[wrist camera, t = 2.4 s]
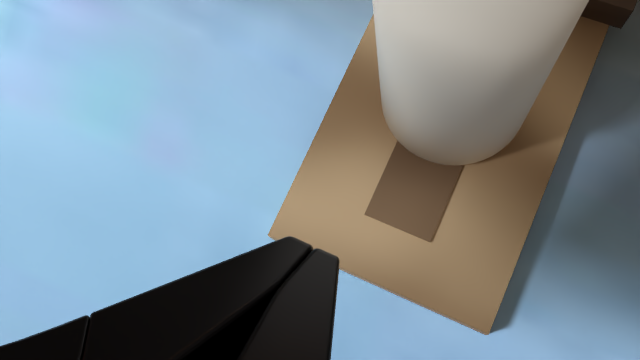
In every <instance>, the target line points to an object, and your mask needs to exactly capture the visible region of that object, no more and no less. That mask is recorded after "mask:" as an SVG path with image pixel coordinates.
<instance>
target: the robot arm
mask: <svg viewBox="0 0 640 360" xmlns="http://www.w3.org/2000/svg"><path fill="white" fill-rule="evenodd" d="M339 263H340V260H339V258H338V257H337V256H335V255H333V254H331V253H329V252H326V251H324V250H322V249H319V248H316V249H313V247H312V245H310V244H308V243H306V242H304V241H302V240H299V239H297V238H295V237H292V236H287V237H284V238H282V239H279V240H277V241H274V242H272V243H269V244H266V245H264V246H261V247H259V248H256V249H254V250H251V251H249V252H246V253H243V254H241V255H238V256H236V257H233V258H231V259H228V260H226V261H223V262H221V263H218V264H215V265H213V266H210V267H208V268H205V269H203V270H200V271H198V272H195V273H193V274H190V275H187V276H185V277H182V278H180V279H177V280H175V281H172V282H170V283H167V284H164V285H162V286H159V287H157V288H154V289H152V290H149V291H147V292H144V293H142V294H139V295H136V296H134V297H131V298H129V299H126V300H124V301H121V302H119V303H116V304H114V305H111V306H108V307H106V308H103V309H101V310H98V311H96V312H93V313H92V314H91V315H90V317H89V316H87V315H85V316H82V317H80V318H77V319H75V320H72V321H70V322H67V323H65V324H62V325H59V326H57V327H54V328H51V329H48V330H46V331H43V332H40V333H37V334H35V335H32V336H29V337H26V338H24V339H21V340H18V341H15V342H12V343H8V344H5V345H2V346H0V360H330V359H331V349H332V338H333V327H334V317H335V306H336V295H337V285H338V274H339Z"/></svg>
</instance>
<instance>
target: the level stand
mask: <svg viewBox="0 0 640 360" xmlns="http://www.w3.org/2000/svg"><path fill="white" fill-rule="evenodd" d="M636 2H637V0H589V1H588V3H587V5H586V7H585V9H584V11H583V12H582V14H581V16H580V18H579V20H578V22H577V24H576V25H575V27H574V29H573V31H572V33H571V35H570V37H569V38H568V40H567V42H566V44H565V46H564V48H563V50H562V51H561V53H560V55H559V57H558V59H557V61H556V63H555V65H554V66H553V68H552V70H551V72H550V74H549V76H548V78H547V79H546V81H545V83H544V85H543V87H542V89H541V91H540V92H539V94H538V96H537V98H536V100H535V102H534V104H533V105H532V107H531V109H530V111H529V113H528V115H527V117H526V118H525V120H524V122H523V124H522V126H521V128H520V130H519V131H518V133H517V134H516V136H515V137H514V138H513V139H512V140H511V142H510V143H509V144H508V145H507V146H506V147H504V148H503V149H502V150H501V151H499V152H498V153H496V154H495V155H493V156H491V157H489V158H487V159H485V160H482V161H479V162H476V163H471V164H466V165H443V164H438V163H434V162H430V161H427V160H425V159H423V158H420V157H418V156H416V155H415V154H413V153H412V152H410V151H409V150H407V149H406V148H405V147H404V146H403V145H401V143H400V142H399V141H398V140H397V139H396V138H395V137H394V135H393V134H392V132H391V131H390V129H389V127H388V125H387V123H386V120H385V118H384V115H383V110H382V103H381V92H380V80H379V69H378V58H377V46H376V35H375V24H374V14H373V16H372V18H371V20H370V22H369V24H368V26H367V29H366V31H365V33H364V35H363V37H362V39H361V41H360V43H359V45H358V47H357V49H356V52H355V54H354V56H353V58H352V60H351V62H350V64H349V66H348V68H347V70H346V73H345V75H344V77H343V79H342V81H341V83H340V85H339V87H338V89H337V91H336V93H335V96H334V98H333V100H332V102H331V104H330V106H329V108H328V110H327V112H326V114H325V116H324V119H323V121H322V123H321V125H320V127H319V129H318V131H317V133H316V135H315V137H314V139H313V142H312V144H311V146H310V148H309V150H308V152H307V154H306V156H305V158H304V160H303V162H302V165H301V167H300V169H299V171H298V173H297V175H296V177H295V179H294V181H293V183H292V186H291V188H290V190H289V192H288V194H287V196H286V198H285V200H284V202H283V204H282V206H281V209H280V211H279V213H278V215H277V217H276V219H275V221H274V223H273V225H272V227H271V229H270V232H269V234H268V236H269V237H270V238H272V239H273V240H275V241H277V240H279V239H282V238H284V237H287V236H292V237H295V238H297V239H299V240H302V241H304V242H306V243H308V244H310V245H312V247H313V249H316V248H319V249H322V250H324V251H326V252H329V253H331V254H333V255H335V256H337V257H338V258H339V260H340V263H339V269H340V270H342V271H344V272H347V273H349V274H351V275H353V276H355V277H358V278H360V279H362V280H364V281H367V282H369V283H371V284H373V285H375V286H378V287H380V288H382V289H384V290H387V291H389V292H391V293H393V294H395V295H398V296H400V297H402V298H404V299H407V300H409V301H411V302H413V303H415V304H418V305H420V306H422V307H424V308H427V309H429V310H431V311H433V312H435V313H438V314H440V315H442V316H444V317H447V318H449V319H451V320H453V321H455V322H458V323H460V324H462V325H464V326H467V327H469V328H471V329H473V330H475V331H478V332H480V333H482V334H484V335H489V332H490V330H491V327H492V325H493V322H494V320H495V317H496V314H497V312H498V309H499V307H500V304H501V302H502V299H503V296H504V294H505V291H506V289H507V286H508V284H509V281H510V279H511V276H512V273H513V271H514V268H515V266H516V263H517V261H518V258H519V256H520V253H521V250H522V248H523V245H524V243H525V240H526V238H527V235H528V233H529V230H530V227H531V225H532V222H533V220H534V217H535V215H536V212H537V209H538V207H539V204H540V202H541V199H542V197H543V194H544V192H545V189H546V186H547V184H548V181H549V179H550V176H551V174H552V171H553V169H554V166H555V163H556V161H557V158H558V156H559V153H560V151H561V148H562V146H563V143H564V140H565V138H566V135H567V133H568V130H569V128H570V125H571V122H572V120H573V117H574V115H575V112H576V110H577V107H578V105H579V102H580V99H581V97H582V94H583V92H584V89H585V87H586V84H587V82H588V79H589V76H590V74H591V71H592V69H593V66H594V64H595V61H596V58H597V56H598V53H599V51H600V48H601V46H602V43H603V41H604V38H605V35H606V33H607V30H608V28H609V25H610V26H613V27H617V28H620V29H621V28H622V27H623V25H624V24H625V22H626V21H627V19H628V18H629V16H630V15H631V13H632V12H633V10H634V7H635V5H636Z"/></svg>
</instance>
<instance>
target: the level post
mask: <svg viewBox="0 0 640 360" xmlns="http://www.w3.org/2000/svg"><path fill="white" fill-rule="evenodd" d="M372 1H373V12H374V24H375V35H376V46H377V58H378V69H379V80H380V92H381V103H382V110H383V115H384V118H385V120H386V123H387V125H388V127H389V129H390V131H391V132H392V134H393V135H394V137H395V138H396V139H397V140H398V141H399V142H400V143H401V145H403V146H404V147H405V148H406V149H407V150H409V151H410V152H412V153H413V154H415V155H416V156H418V157H420V158H423V159H425V160H427V161H430V162H434V163H438V164H443V165H466V164H471V163H476V162H479V161H482V160H485V159H487V158H489V157H491V156H493V155H495V154H496V153H498V152H499V151H501V150H502V149H503V148H504V147H506V146H507V145H508V144H509V143H510V142H511V140H512V139H513V138H514V137H515V136H516V134H517V133H518V131H519V130H520V128H521V126H522V124H523V122H524V120H525V118H526V117H527V115H528V113H529V111H530V109H531V107H532V105H533V104H534V102H535V100H536V98H537V96H538V94H539V92H540V91H541V89H542V87H543V85H544V83H545V81H546V79H547V78H548V76H549V74H550V72H551V70H552V68H553V66H554V65H555V63H556V61H557V59H558V57H559V55H560V53H561V51H562V50H563V48H564V46H565V44H566V42H567V40H568V38H569V37H570V35H571V33H572V31H573V29H574V27H575V25H576V24H577V22H578V20H579V18H580V16H581V14H582V12H583V11H584V9H585V7H586V5H587V3H588V1H589V0H372Z"/></svg>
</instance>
